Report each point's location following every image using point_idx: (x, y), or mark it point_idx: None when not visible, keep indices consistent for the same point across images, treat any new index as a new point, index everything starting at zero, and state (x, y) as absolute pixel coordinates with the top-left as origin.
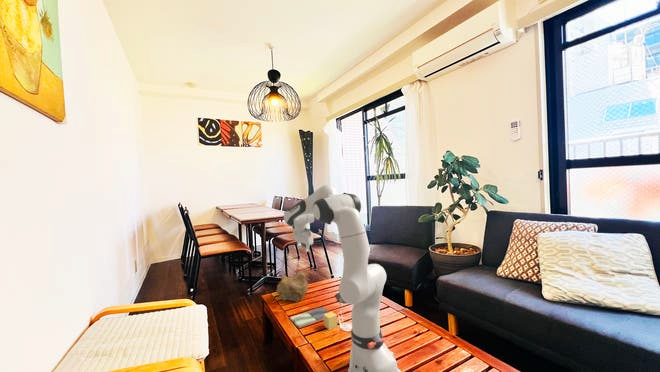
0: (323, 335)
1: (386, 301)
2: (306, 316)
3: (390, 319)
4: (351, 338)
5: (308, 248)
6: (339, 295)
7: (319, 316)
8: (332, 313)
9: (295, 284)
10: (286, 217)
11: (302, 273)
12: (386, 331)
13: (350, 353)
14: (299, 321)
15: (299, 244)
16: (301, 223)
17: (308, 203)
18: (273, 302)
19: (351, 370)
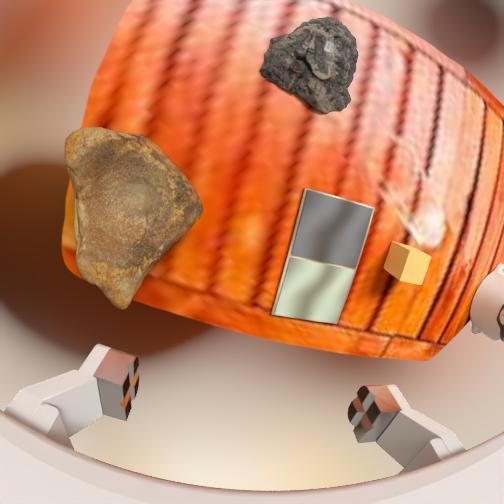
0: (405, 298)
1: (420, 41)
2: (314, 277)
3: (476, 134)
4: (501, 338)
5: (407, 414)
6: (296, 79)
7: (349, 249)
8: (418, 258)
9: (118, 199)
10: None
11: (88, 140)
12: (488, 190)
13: (490, 338)
14: (318, 310)
15: (83, 407)
16: None
17: None
18: None
19: (477, 329)
